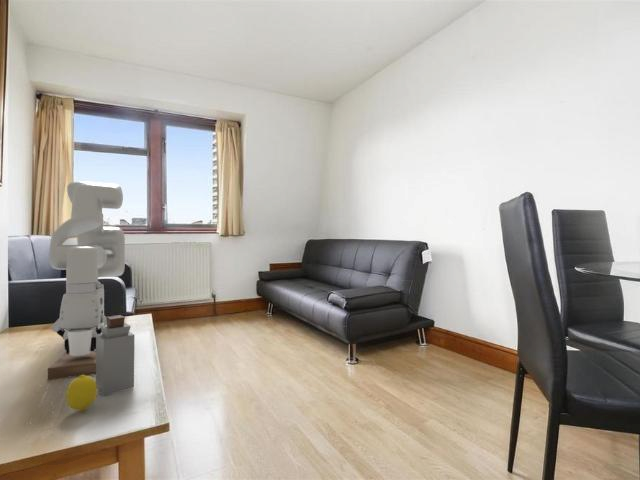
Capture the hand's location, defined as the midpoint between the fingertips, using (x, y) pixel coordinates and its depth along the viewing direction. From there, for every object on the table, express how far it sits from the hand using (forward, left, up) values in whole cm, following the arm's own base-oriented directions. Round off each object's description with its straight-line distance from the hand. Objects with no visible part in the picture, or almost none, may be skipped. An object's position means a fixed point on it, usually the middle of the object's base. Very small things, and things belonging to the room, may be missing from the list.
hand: (81, 350), depth 97 cm
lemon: (+28, +8, -6) cm, 30 cm away
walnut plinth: (0, 0, -5) cm, 5 cm away
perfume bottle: (+17, +12, -6) cm, 22 cm away
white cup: (0, 0, -1) cm, 1 cm away
